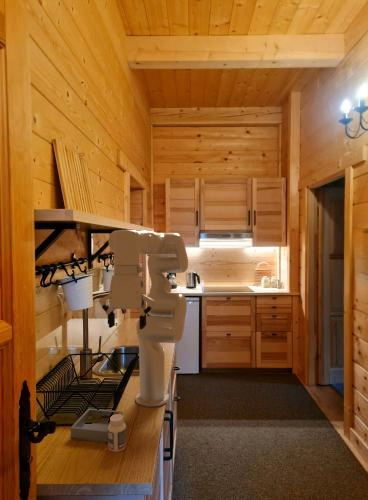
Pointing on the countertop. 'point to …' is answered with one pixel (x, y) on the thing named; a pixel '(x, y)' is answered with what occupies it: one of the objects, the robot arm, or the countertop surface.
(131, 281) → the robot arm
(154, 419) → the countertop surface
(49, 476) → the countertop surface
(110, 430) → the pill bottle
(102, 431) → the bin
